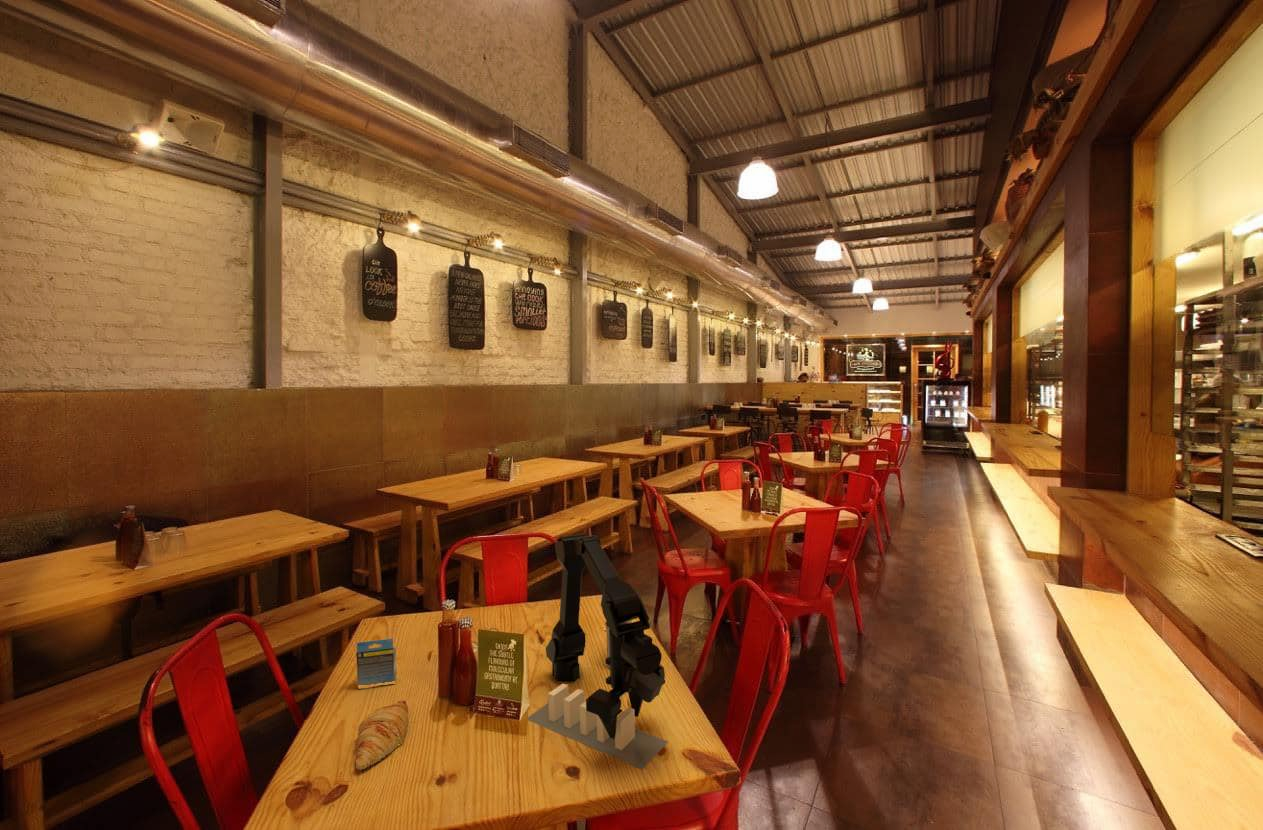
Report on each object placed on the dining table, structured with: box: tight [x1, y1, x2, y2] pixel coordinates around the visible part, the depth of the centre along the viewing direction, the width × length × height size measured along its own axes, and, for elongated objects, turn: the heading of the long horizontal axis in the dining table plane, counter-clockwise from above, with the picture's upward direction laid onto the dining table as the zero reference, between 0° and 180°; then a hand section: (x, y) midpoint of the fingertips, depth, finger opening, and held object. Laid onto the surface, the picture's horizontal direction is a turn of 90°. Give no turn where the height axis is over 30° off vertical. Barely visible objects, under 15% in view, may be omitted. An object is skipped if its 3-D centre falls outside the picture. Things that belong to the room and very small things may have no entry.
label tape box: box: [355, 637, 398, 686], centre depth 140 cm, size 9×4×12 cm, turn 105°
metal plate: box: [525, 702, 669, 770], centre depth 118 cm, size 31×10×1 cm, turn 57°
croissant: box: [355, 700, 409, 771], centre depth 117 cm, size 21×10×8 cm, turn 2°
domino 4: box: [597, 715, 609, 743], centre depth 116 cm, size 2×5×6 cm, turn 146°
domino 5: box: [615, 706, 636, 750], centre depth 113 cm, size 2×5×6 cm, turn 147°
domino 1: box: [547, 683, 570, 722], centre depth 123 cm, size 2×5×6 cm, turn 147°
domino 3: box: [580, 700, 597, 736], centre depth 118 cm, size 2×5×6 cm, turn 146°
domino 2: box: [564, 688, 585, 729], centre depth 121 cm, size 2×5×6 cm, turn 146°
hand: (624, 726), depth 113 cm, fingers open, 8 cm apart
